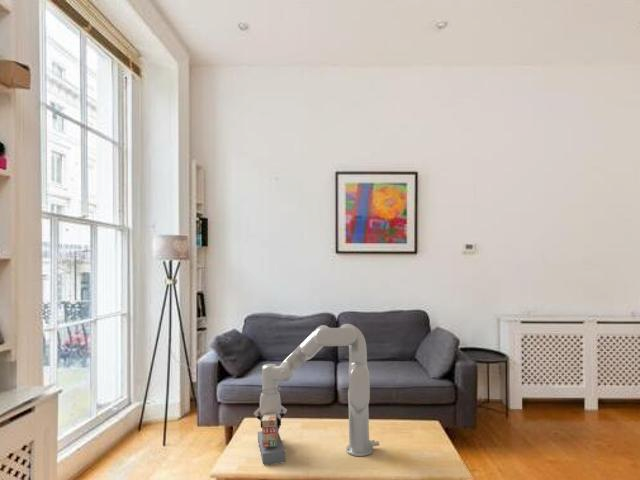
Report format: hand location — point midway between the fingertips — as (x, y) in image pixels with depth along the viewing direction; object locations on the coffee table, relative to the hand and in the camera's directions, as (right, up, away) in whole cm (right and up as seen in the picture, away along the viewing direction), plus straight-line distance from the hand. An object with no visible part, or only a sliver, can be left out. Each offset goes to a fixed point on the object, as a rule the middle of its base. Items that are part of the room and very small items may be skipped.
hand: (270, 427), depth 206 cm
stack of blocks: (0, -5, 0) cm, 5 cm away
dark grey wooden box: (0, -11, -1) cm, 11 cm away
